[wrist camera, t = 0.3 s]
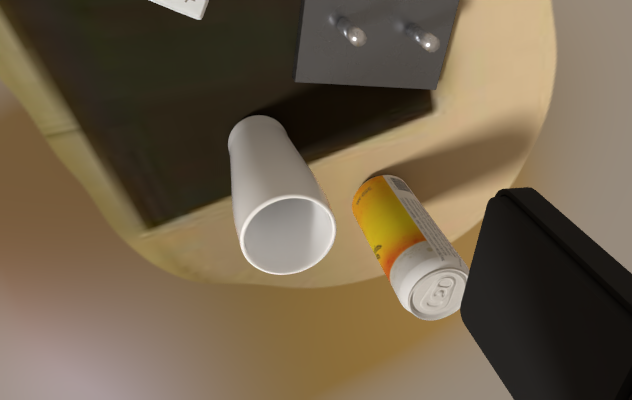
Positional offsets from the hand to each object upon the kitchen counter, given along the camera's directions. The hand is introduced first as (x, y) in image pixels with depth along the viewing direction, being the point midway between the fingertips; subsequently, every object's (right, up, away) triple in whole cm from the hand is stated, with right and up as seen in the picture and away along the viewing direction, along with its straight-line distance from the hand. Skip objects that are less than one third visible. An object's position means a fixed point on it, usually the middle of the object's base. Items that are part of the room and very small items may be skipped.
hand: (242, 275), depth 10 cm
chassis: (+7, +19, +34) cm, 40 cm away
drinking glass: (-4, +7, +39) cm, 40 cm away
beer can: (+8, +2, +46) cm, 46 cm away
